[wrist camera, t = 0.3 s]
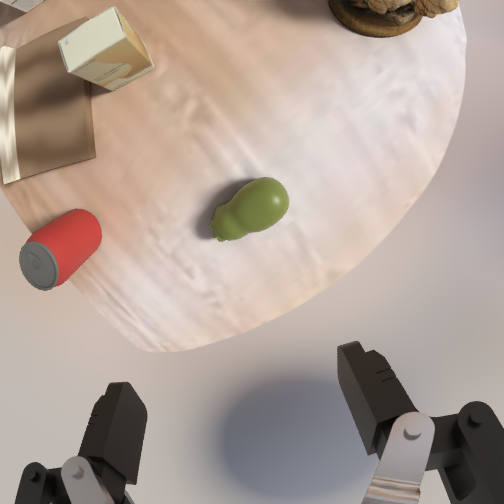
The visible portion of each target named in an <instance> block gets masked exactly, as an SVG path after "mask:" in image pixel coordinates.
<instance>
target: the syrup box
mask: <svg viewBox="0 0 504 504" xmlns="http://www.w3.org/2000/svg"><path fill="white" fill-rule="evenodd" d="M43 1H45V0H0V2H2V3H5V4H7V5H10V6H12V7H14V8H17V9H19V10H21V11H24V12H28V11H30V10H31V9H33V8H34V7H36V6H37V5H39V4H40V3H42V2H43Z"/></svg>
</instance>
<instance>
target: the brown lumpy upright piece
mask: <svg viewBox="0 0 504 504" xmlns="http://www.w3.org/2000/svg"><path fill="white" fill-rule="evenodd" d="M328 2H329V6H330V8H331V10H332V12H333V14H334V15H335V16H336V17H337V19H338V20H339V21H340V22H341V23H342V24H343V25H345V26H346V27H348V28H349V29H350V30H352V31H354V32H356V33H358V34H361V35H365V36H370V37H379V38H383V37H385V38H386V37H393V36H397V35H401V34H403V33H406V32H408V31H410V30H411V29H413V28H414V27H415V26H417V25H418V23H419V22H420V21H421V19H422V16H427V17H429V18H434V17H435V16H436V15H437V14H444V13H447V12H451V11H453V10H454V9H456V8H457V6H458V2H459V0H328Z"/></svg>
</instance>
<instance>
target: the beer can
mask: <svg viewBox="0 0 504 504" xmlns="http://www.w3.org/2000/svg"><path fill="white" fill-rule="evenodd" d="M101 238H102V234H101V228H100V225H99V222H98V221H97V219H96V218H95V216H94V215H92V214H91V213H90V212H88V211H86V210H84V209H75V210H72V211H70V212H68V213H66V214H64V215H63V216H61V217H59V218H57V219H56V220H54V221H52V222H51V223H49V224H47V225H46V226H44V227H42V228H41V229H39V230H37V231H36V232H34V233H33V234H32V235H31V237H30V238H29V239H28V240H27V242H26V244H25V245H24V246H23V247H22V249H21V251H20V257H19V262H20V266H21V270H22V272H23V275H24V276H25V278H26V279H27V280H28V282H29V283H30V284H31V285H32V286H34V287H35V288H37V289H39V290H44V291H46V290H50V289H52V288H53V287H56V286H59V285H61V284H62V283H64V282H65V281H66V280H67V279H68V278H69V277H70V276H71V275H72V274H73V273H74V272H75V271H76V270H77V269H78V268H79V267H80V266H81V265H82V264H83V263H84V262H85V261H86V260H87V259H88V258H89V257H90V256H91V255H92V254H93V253H94V252H95V251H96V250H97V249H98V247H99V245H100V242H101Z"/></svg>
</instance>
